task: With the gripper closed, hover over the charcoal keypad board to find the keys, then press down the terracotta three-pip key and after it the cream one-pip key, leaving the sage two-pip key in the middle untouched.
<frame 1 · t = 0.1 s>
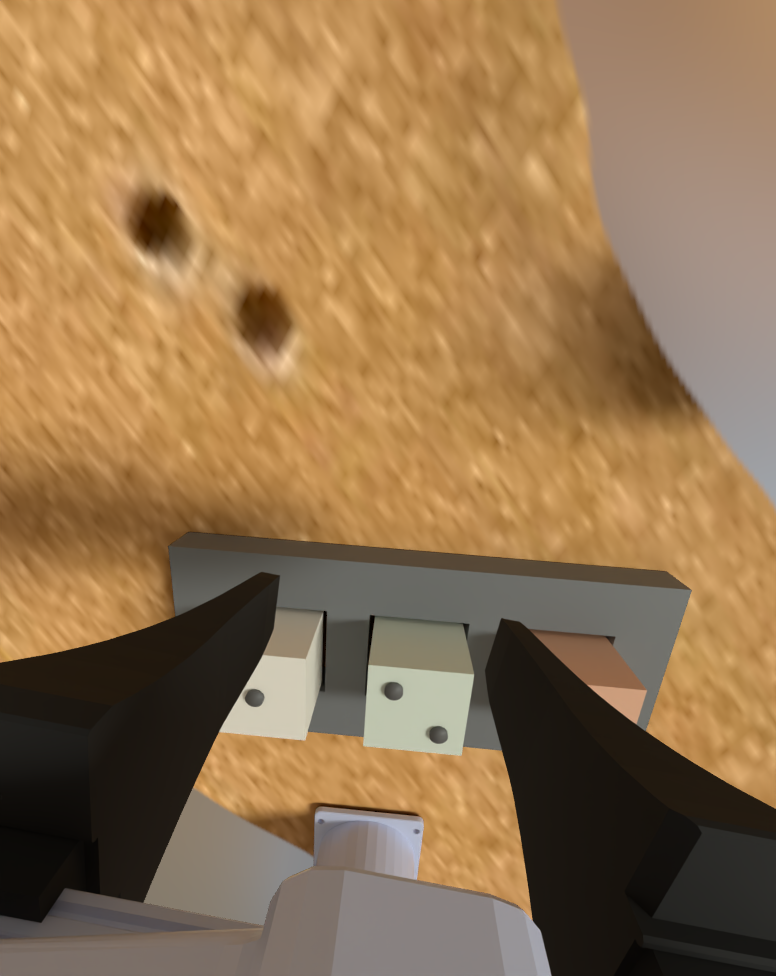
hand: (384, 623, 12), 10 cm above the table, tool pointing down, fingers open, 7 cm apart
key three: (565, 696, 20), point 4 cm above the table, slide at 0.0 cm
keypad board: (414, 638, 24), on the table
key one: (268, 668, 21), point 4 cm above the table, slide at 0.0 cm
key two: (415, 682, 20), point 4 cm above the table, slide at 0.0 cm
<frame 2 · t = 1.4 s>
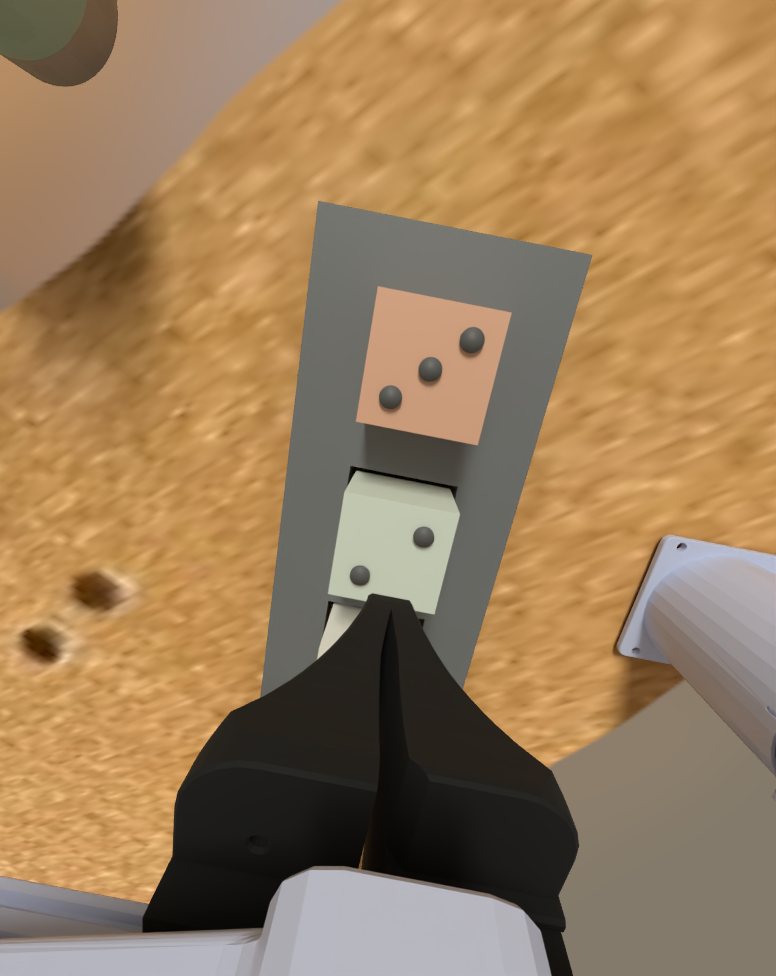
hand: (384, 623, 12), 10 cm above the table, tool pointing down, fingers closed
key three: (427, 370, 16), point 4 cm above the table, slide at 0.0 cm
coffee cup: (57, 9, 17), on the table
keypad board: (395, 513, 22), on the table
key one: (365, 670, 21), point 4 cm above the table, slide at 0.0 cm
key two: (392, 538, 19), point 4 cm above the table, slide at 0.0 cm
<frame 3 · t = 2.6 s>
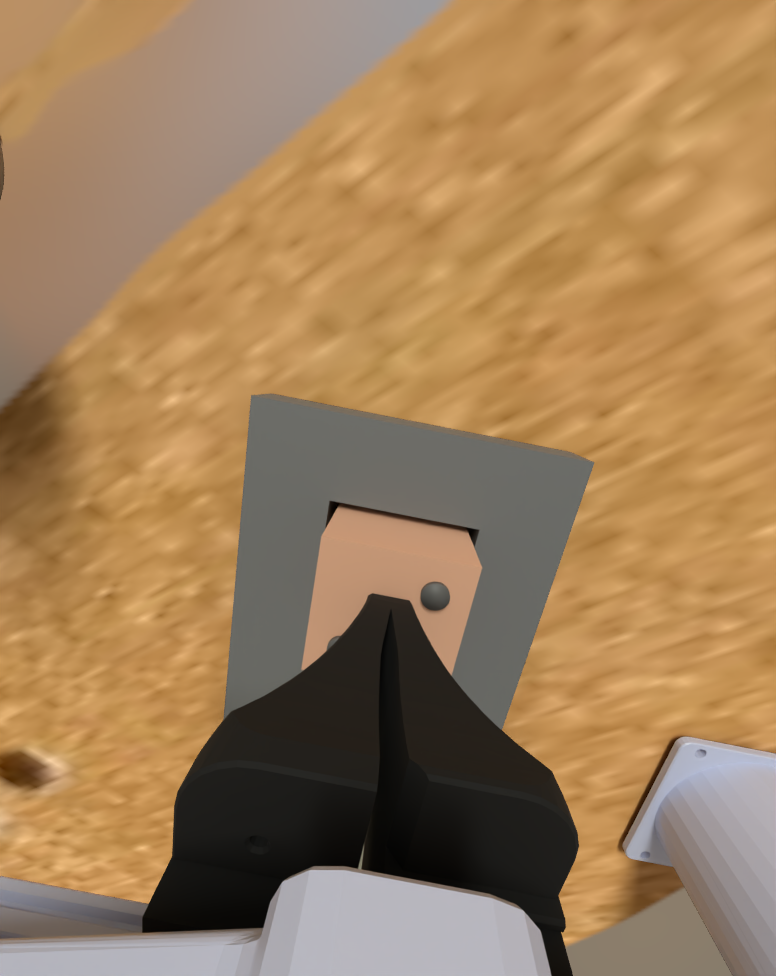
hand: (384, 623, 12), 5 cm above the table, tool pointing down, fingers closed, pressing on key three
key three: (389, 590, 14), point 3 cm above the table, slide at 1.0 cm, touching gripper
keypad board: (362, 703, 19), on the table
key two: (351, 775, 15), point 4 cm above the table, slide at 0.0 cm
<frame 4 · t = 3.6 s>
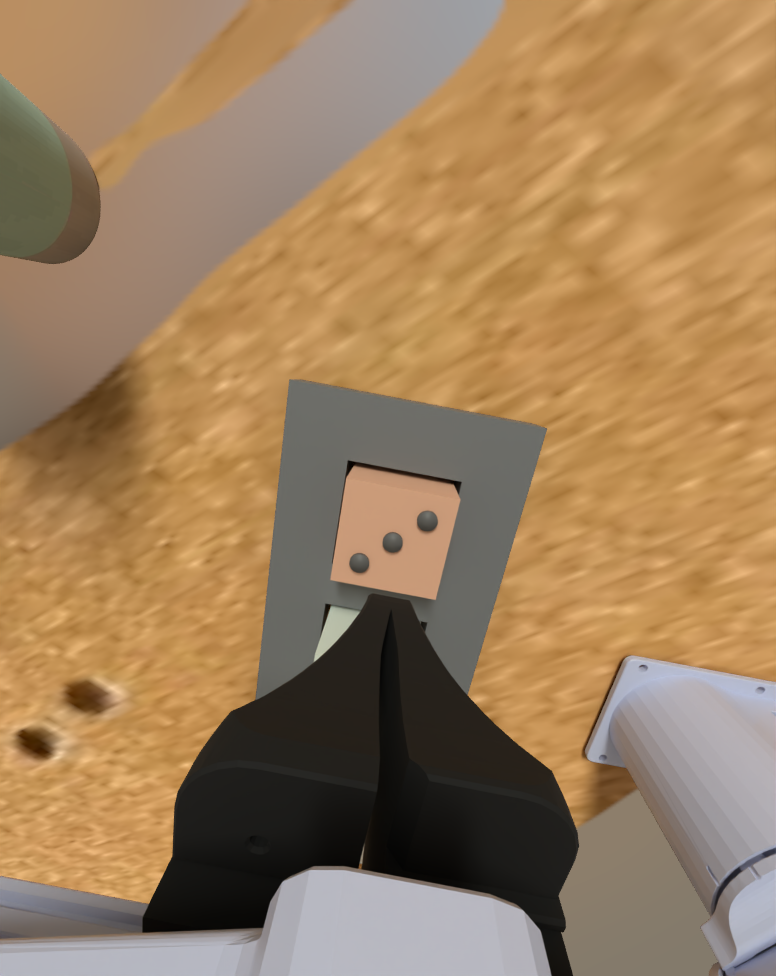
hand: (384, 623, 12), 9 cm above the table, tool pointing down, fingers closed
key three: (394, 525, 19), point 2 cm above the table, slide at 1.4 cm
coffee cup: (44, 196, 18), on the table
keypad board: (371, 632, 23), on the table
key one: (342, 789, 22), point 4 cm above the table, slide at 0.0 cm
key two: (364, 677, 20), point 4 cm above the table, slide at 0.0 cm
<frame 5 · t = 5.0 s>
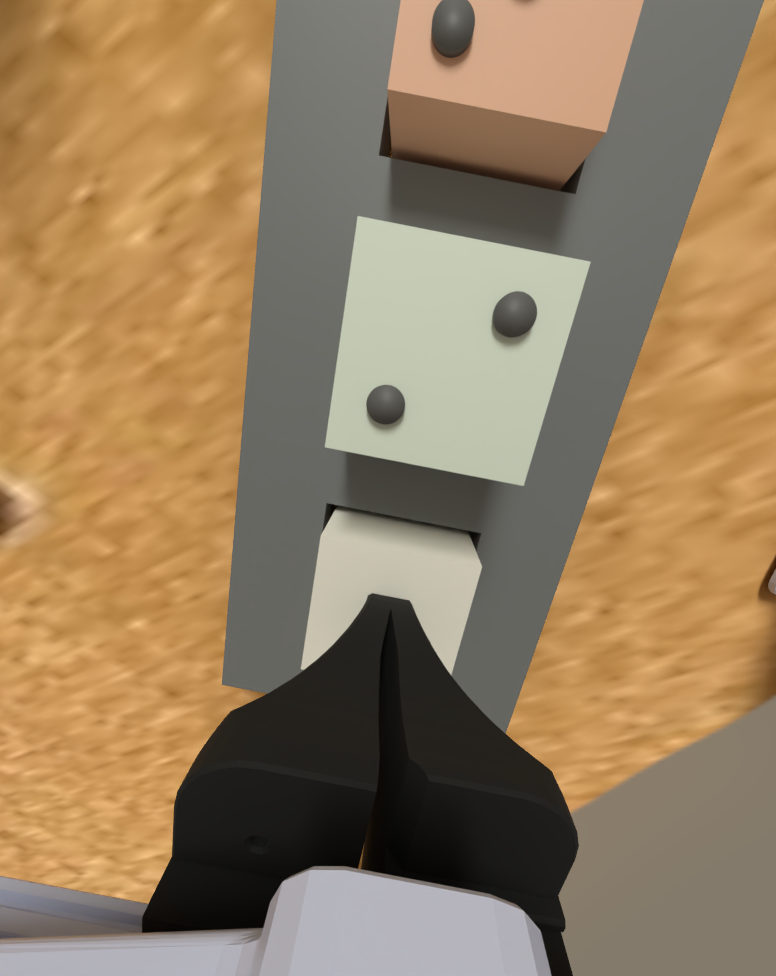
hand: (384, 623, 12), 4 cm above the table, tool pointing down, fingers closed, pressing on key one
key three: (506, 41, 10), point 2 cm above the table, slide at 1.4 cm
keypad board: (432, 368, 14), on the table
key one: (389, 589, 14), point 2 cm above the table, slide at 1.4 cm, touching gripper
key two: (440, 364, 11), point 4 cm above the table, slide at 0.0 cm
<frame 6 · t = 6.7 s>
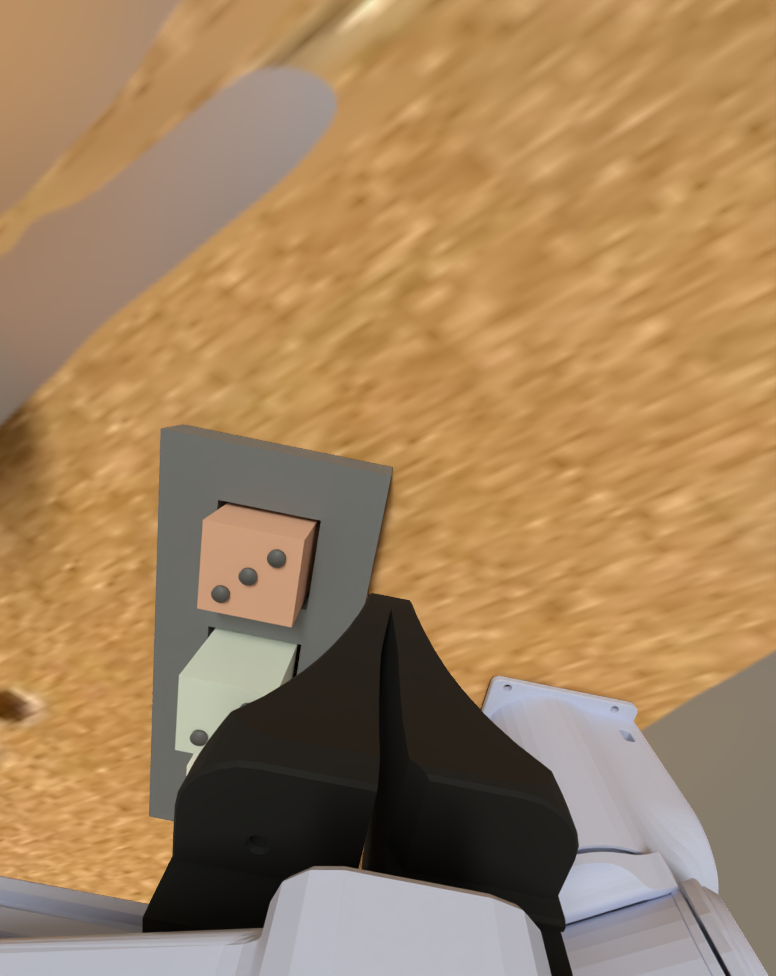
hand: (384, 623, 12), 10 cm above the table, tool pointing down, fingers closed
key three: (262, 558, 21), point 2 cm above the table, slide at 1.4 cm
keypad board: (262, 651, 25), on the table
key one: (237, 773, 25), point 2 cm above the table, slide at 1.4 cm
key two: (239, 694, 22), point 4 cm above the table, slide at 0.0 cm
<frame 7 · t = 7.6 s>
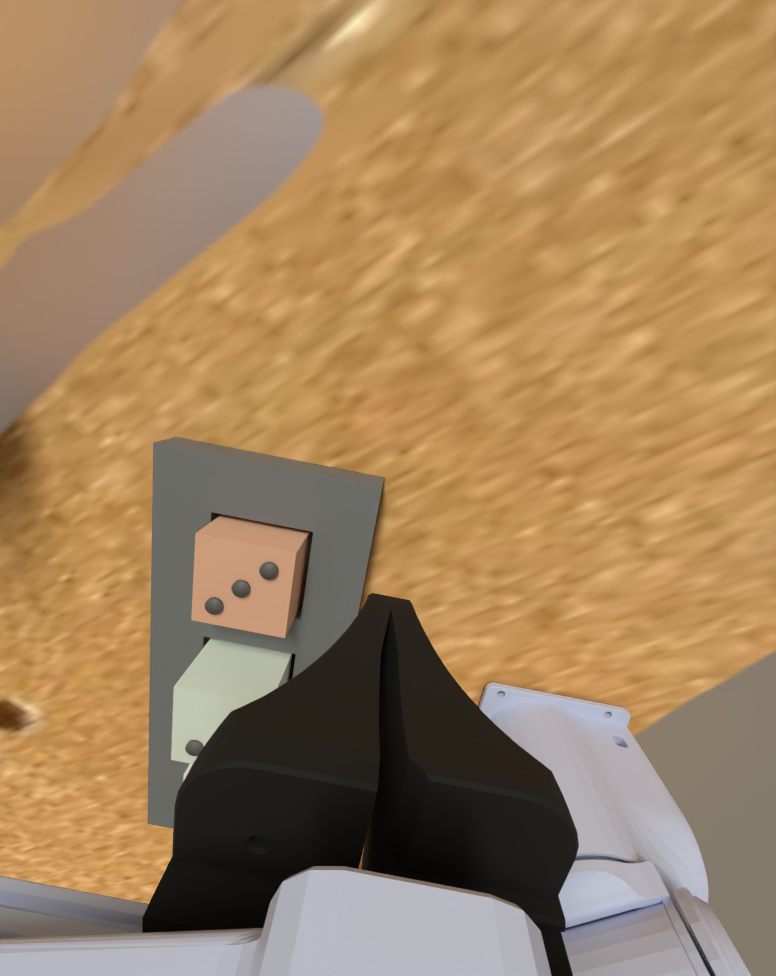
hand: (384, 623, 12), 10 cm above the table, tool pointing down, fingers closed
key three: (256, 569, 21), point 2 cm above the table, slide at 1.4 cm
keypad board: (258, 659, 25), on the table
key one: (234, 780, 26), point 2 cm above the table, slide at 1.4 cm
key two: (234, 704, 22), point 4 cm above the table, slide at 0.0 cm
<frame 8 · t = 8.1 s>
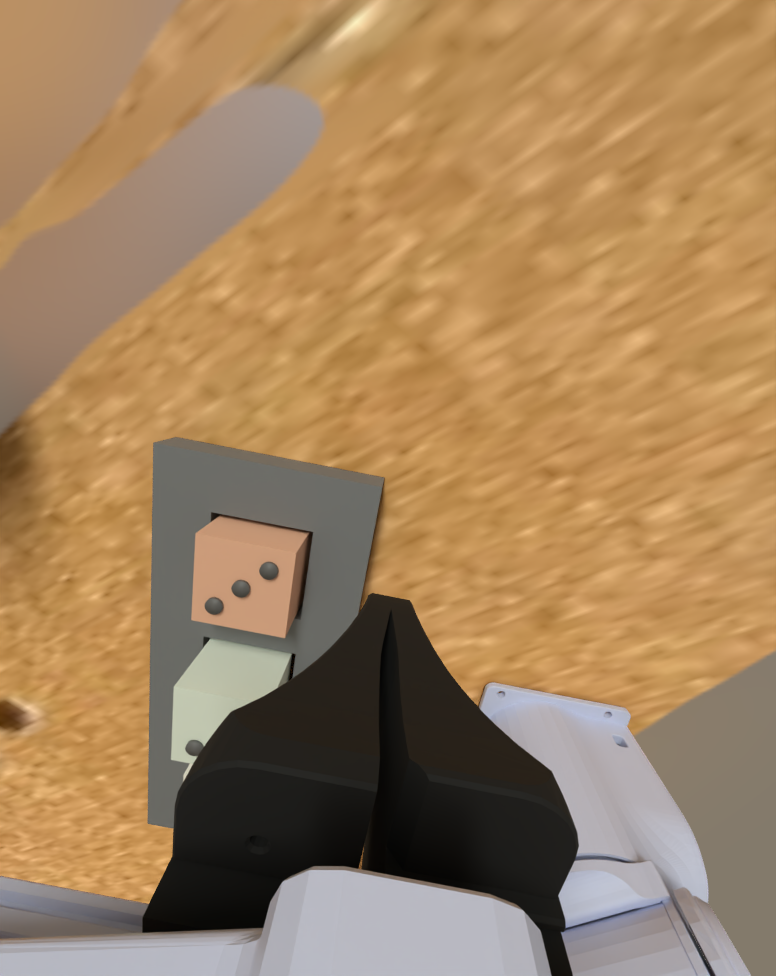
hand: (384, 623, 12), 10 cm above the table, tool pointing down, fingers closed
key three: (256, 569, 21), point 2 cm above the table, slide at 1.4 cm
keypad board: (258, 659, 25), on the table
key one: (234, 780, 26), point 2 cm above the table, slide at 1.4 cm
key two: (234, 704, 22), point 4 cm above the table, slide at 0.0 cm
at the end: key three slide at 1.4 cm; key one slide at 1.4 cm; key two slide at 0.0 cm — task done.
